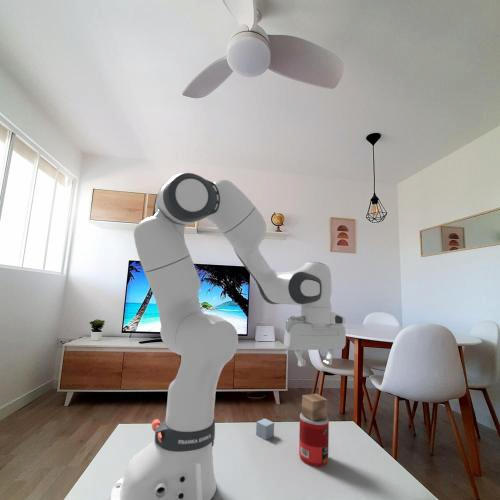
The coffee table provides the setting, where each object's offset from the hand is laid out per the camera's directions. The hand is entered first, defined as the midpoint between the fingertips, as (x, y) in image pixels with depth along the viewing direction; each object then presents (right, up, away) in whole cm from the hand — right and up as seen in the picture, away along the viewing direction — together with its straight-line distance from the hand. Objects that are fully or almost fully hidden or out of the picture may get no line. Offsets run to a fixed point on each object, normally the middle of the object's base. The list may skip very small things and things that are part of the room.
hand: (315, 365), depth 82 cm
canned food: (-1, -25, -4) cm, 25 cm away
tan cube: (-1, -14, -2) cm, 14 cm away
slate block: (-14, -26, +8) cm, 30 cm away
